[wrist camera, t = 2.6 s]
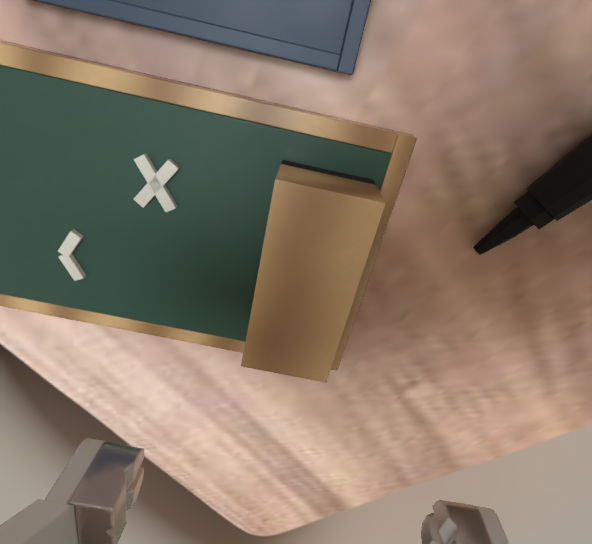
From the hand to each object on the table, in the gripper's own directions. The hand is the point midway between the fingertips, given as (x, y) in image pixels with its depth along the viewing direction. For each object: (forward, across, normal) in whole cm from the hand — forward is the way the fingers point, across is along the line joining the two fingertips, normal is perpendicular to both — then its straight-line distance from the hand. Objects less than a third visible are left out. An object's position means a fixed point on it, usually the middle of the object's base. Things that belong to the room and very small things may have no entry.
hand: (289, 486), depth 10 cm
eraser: (+14, 0, 0) cm, 14 cm away
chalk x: (+14, +9, -3) cm, 17 cm away
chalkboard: (+15, +8, 0) cm, 17 cm away
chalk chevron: (+14, +14, +3) cm, 20 cm away
